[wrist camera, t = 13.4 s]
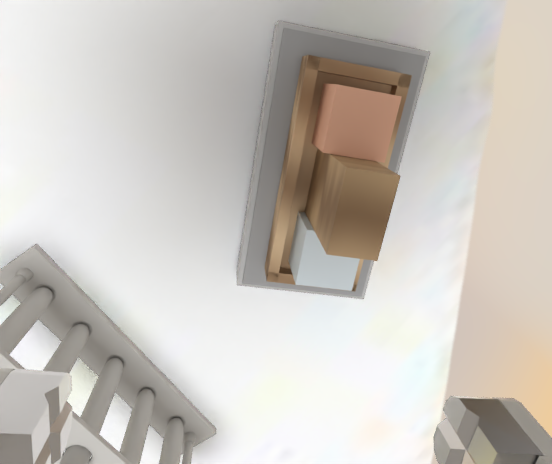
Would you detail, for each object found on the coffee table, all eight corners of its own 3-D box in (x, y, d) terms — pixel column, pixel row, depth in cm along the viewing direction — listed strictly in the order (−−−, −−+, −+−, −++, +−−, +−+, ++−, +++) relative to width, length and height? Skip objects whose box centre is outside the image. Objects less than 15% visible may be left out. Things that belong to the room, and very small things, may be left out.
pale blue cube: (298, 211, 31) (306, 229, 27) (349, 218, 32) (365, 237, 28) (288, 260, 32) (295, 284, 29) (338, 266, 33) (351, 290, 29)
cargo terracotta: (323, 83, 28) (337, 84, 25) (380, 93, 29) (401, 96, 25) (311, 143, 30) (322, 152, 26) (366, 152, 30) (384, 162, 26)
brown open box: (302, 56, 29) (332, 47, 20) (398, 75, 30) (467, 74, 21) (264, 267, 34) (275, 334, 25) (347, 277, 35) (385, 345, 26)
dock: (275, 24, 31) (279, 19, 28) (415, 53, 32) (432, 51, 30) (236, 271, 37) (236, 287, 35) (355, 285, 39) (364, 301, 36)
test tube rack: (-3, 271, 35) (-130, 375, 23) (37, 243, 35) (-71, 334, 23) (181, 448, 44) (161, 594, 32) (216, 427, 43) (209, 567, 31)
